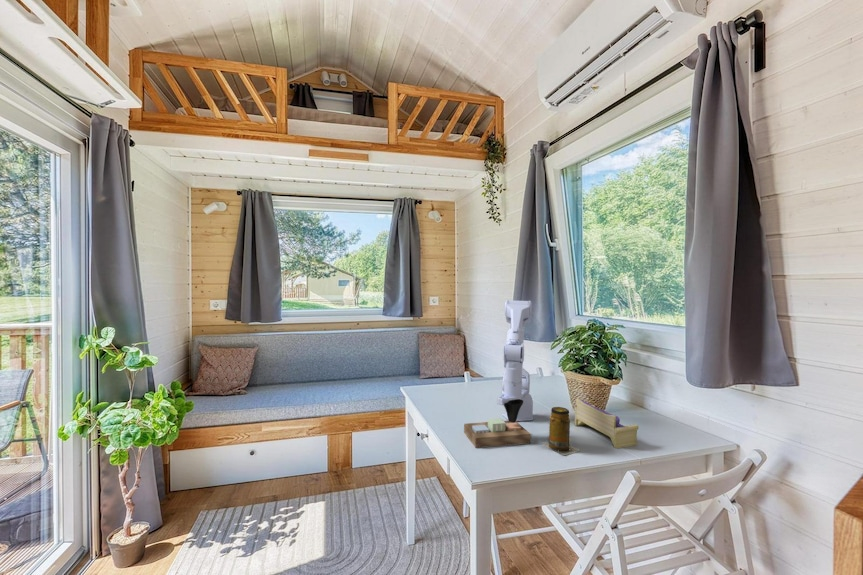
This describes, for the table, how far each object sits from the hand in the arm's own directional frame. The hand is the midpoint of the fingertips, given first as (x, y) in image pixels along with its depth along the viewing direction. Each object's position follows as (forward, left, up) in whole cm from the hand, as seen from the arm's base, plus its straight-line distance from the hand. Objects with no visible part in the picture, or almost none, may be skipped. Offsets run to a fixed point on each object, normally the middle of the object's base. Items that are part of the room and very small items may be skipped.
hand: (512, 421), depth 132 cm
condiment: (-11, +11, -5) cm, 17 cm away
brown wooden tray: (+6, 0, -5) cm, 7 cm away
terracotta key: (0, 0, -5) cm, 5 cm away
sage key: (+6, 0, -3) cm, 6 cm away
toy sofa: (-31, +4, -5) cm, 32 cm away
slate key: (+11, 0, -5) cm, 12 cm away
